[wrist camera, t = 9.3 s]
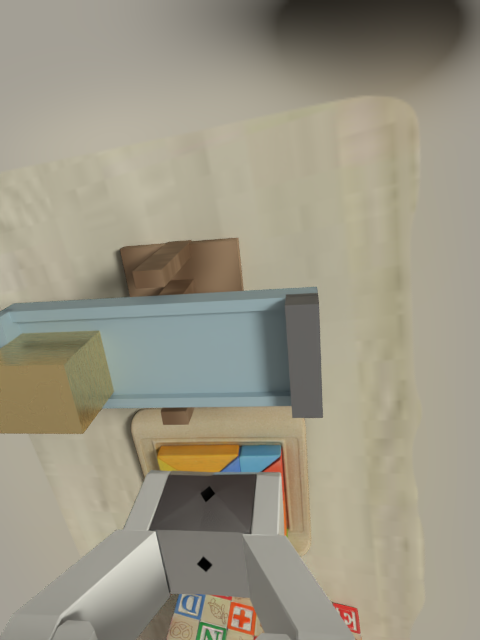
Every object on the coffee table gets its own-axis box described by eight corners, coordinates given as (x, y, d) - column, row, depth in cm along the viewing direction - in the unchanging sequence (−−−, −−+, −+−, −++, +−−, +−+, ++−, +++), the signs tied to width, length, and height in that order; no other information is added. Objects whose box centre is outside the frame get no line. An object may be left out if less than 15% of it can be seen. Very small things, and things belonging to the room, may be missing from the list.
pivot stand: (238, 236, 36) (221, 265, 27) (251, 365, 40) (240, 423, 32) (124, 245, 37) (75, 275, 29) (149, 369, 42) (113, 425, 33)
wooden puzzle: (163, 538, 51) (155, 565, 48) (133, 405, 44) (121, 425, 41) (311, 542, 49) (312, 570, 46) (304, 401, 42) (305, 423, 39)
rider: (99, 330, 30) (63, 364, 26) (114, 391, 32) (83, 433, 27) (21, 333, 31) (-26, 366, 26) (40, 392, 33) (-2, 433, 28)
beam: (316, 286, 28) (318, 304, 25) (320, 391, 31) (322, 417, 28) (13, 303, 32) (-16, 320, 29) (43, 396, 35) (19, 420, 32)
